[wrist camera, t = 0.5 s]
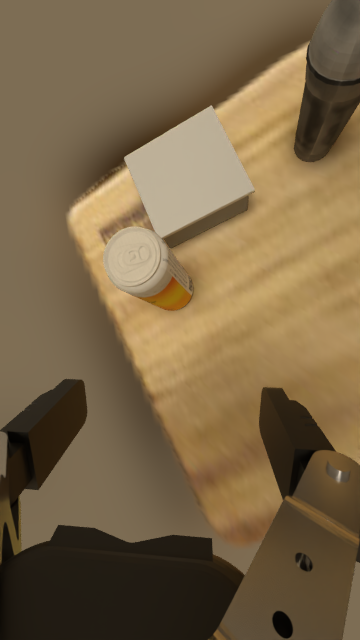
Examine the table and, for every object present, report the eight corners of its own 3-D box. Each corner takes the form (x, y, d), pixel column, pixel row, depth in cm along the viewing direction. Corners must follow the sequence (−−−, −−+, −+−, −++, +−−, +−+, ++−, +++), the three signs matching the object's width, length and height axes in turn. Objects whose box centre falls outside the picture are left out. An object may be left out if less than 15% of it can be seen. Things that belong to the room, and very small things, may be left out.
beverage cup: (271, 147, 34) (318, -104, 15) (316, 109, 34) (427, -208, 14) (307, 182, 33) (410, -44, 14) (355, 144, 32) (538, -156, 13)
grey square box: (214, 136, 36) (211, 105, 32) (252, 210, 34) (254, 189, 30) (137, 180, 39) (123, 157, 34) (168, 252, 37) (158, 239, 32)
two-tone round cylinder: (149, 276, 37) (93, 234, 22) (188, 264, 36) (156, 212, 21) (158, 315, 36) (105, 298, 22) (198, 305, 35) (171, 279, 20)
